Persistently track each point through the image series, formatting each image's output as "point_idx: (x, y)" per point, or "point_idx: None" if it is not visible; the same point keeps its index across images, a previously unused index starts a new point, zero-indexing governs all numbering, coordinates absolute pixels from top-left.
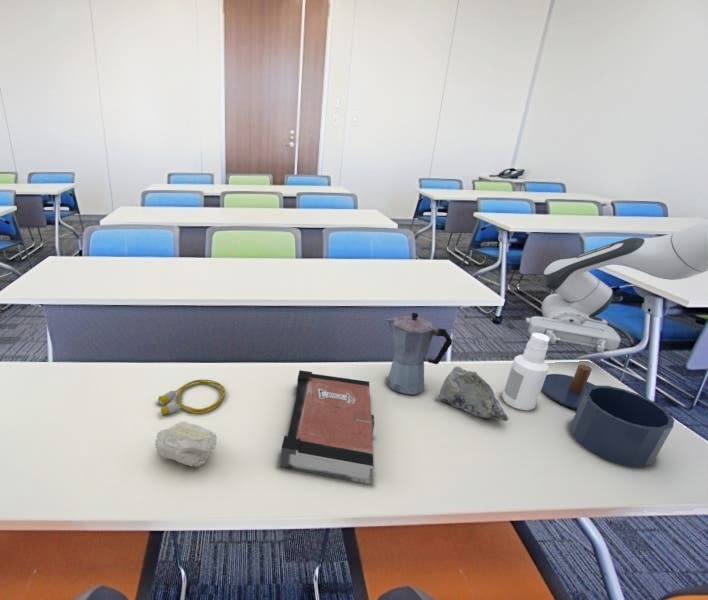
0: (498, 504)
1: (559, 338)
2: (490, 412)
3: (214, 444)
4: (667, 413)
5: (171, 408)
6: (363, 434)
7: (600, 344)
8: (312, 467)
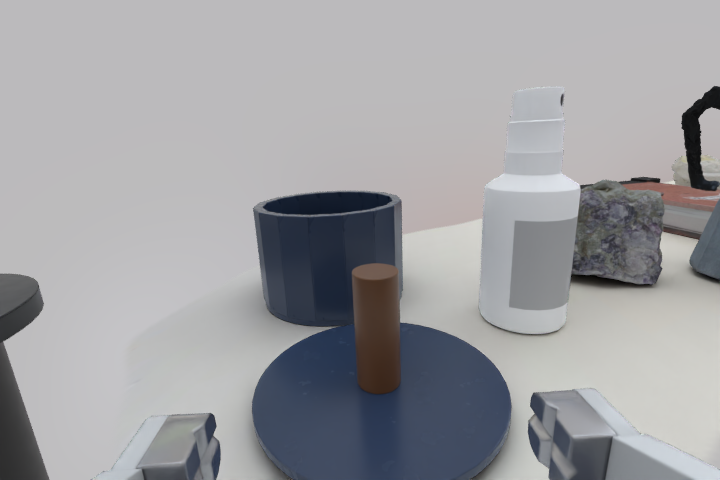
0: (468, 222)
1: (550, 393)
2: None
3: (684, 175)
4: (258, 205)
5: None
6: None
7: (154, 448)
8: None
